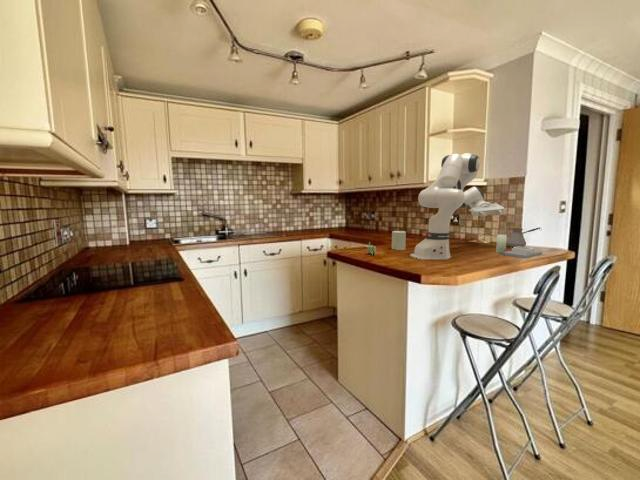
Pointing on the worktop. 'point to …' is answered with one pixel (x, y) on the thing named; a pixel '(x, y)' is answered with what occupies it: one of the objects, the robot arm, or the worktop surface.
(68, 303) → the worktop surface
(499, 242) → the post
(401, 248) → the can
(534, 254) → the base board
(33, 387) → the worktop surface
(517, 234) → the coffee pot
